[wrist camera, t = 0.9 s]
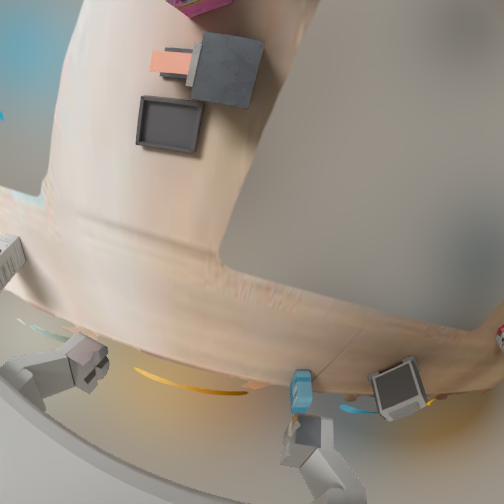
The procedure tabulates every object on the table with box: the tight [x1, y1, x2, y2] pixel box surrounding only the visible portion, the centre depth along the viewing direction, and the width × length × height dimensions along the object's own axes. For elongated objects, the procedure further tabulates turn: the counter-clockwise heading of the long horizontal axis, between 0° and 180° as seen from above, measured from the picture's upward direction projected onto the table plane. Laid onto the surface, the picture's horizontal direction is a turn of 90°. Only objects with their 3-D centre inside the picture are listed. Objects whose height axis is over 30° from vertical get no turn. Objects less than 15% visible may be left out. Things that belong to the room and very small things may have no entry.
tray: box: [136, 96, 205, 154], centre depth 45 cm, size 11×9×2 cm
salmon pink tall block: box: [149, 51, 192, 75], centre depth 36 cm, size 6×3×9 cm, turn 77°
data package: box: [290, 370, 313, 414], centre depth 85 cm, size 12×4×12 cm, turn 175°
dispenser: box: [160, 32, 265, 109], centre depth 36 cm, size 16×10×10 cm, turn 77°
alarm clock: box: [368, 355, 428, 421], centre depth 82 cm, size 18×13×18 cm
